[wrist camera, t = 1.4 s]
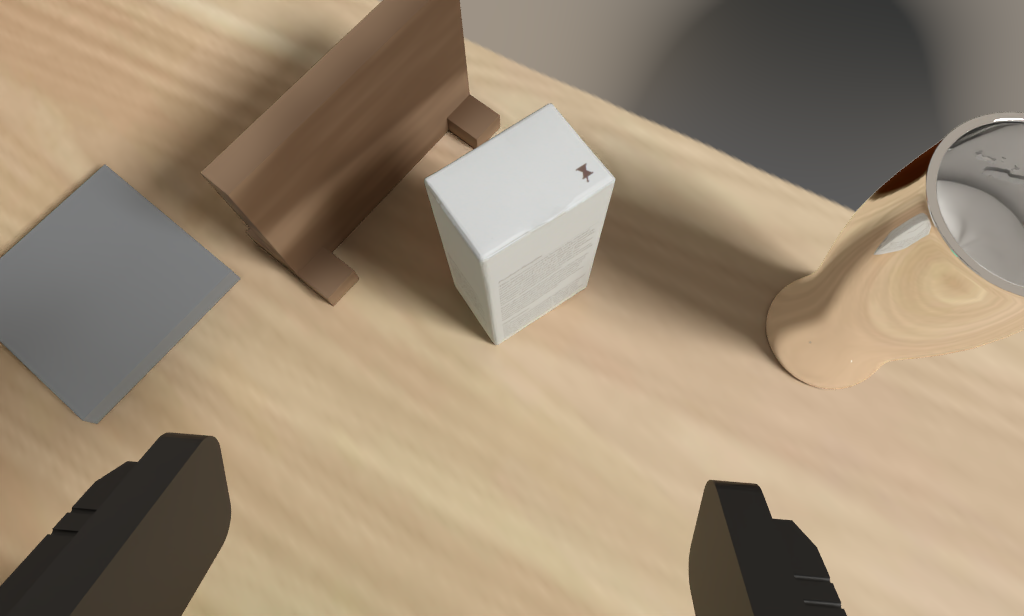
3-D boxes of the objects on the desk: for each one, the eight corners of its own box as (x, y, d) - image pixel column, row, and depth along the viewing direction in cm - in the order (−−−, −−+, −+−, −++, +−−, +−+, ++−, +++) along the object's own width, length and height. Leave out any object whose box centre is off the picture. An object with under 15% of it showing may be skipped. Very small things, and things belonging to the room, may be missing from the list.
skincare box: (542, 228, 37) (554, 96, 26) (588, 288, 36) (622, 179, 25) (449, 286, 36) (419, 176, 25) (493, 350, 35) (483, 266, 24)
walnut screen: (253, 241, 37) (163, 142, 27) (422, 72, 40) (393, -68, 31) (333, 306, 36) (267, 226, 26) (499, 127, 39) (495, -1, 29)
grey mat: (-27, 305, 36) (-45, 298, 35) (117, 174, 38) (105, 164, 37) (96, 423, 34) (82, 420, 33) (240, 278, 36) (231, 270, 35)
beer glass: (764, 258, 36) (924, 87, 22) (894, 285, 36) (1144, 127, 22) (749, 382, 34) (915, 281, 20) (887, 412, 34) (1159, 330, 20)
